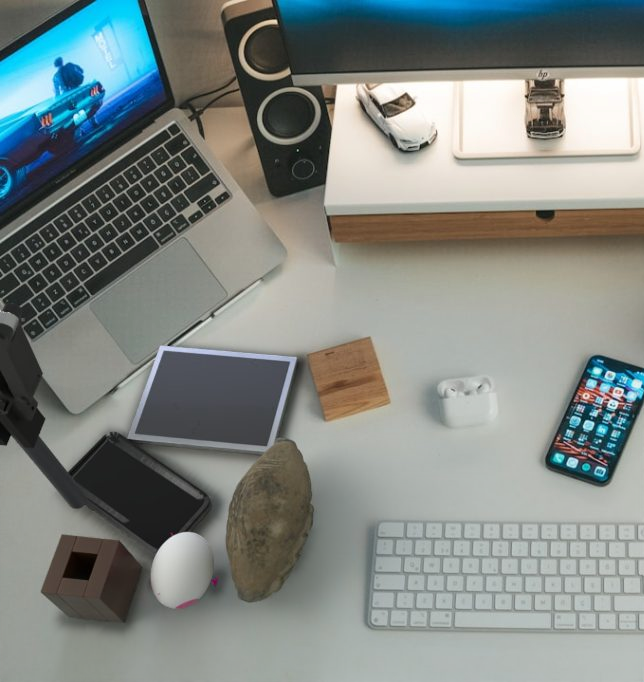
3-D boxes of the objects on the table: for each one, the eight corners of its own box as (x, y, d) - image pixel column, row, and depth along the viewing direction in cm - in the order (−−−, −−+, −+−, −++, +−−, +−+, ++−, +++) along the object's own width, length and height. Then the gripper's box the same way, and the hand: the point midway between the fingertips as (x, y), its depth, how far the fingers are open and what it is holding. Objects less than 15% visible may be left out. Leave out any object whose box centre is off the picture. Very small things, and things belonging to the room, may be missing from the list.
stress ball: (188, 558, 113) (135, 535, 108) (240, 541, 109) (188, 516, 104) (172, 629, 108) (117, 608, 104) (226, 613, 104) (171, 590, 100)
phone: (111, 427, 117) (213, 498, 111) (115, 432, 117) (216, 503, 112) (56, 483, 113) (159, 558, 108) (60, 488, 114) (162, 563, 109)
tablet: (129, 442, 117) (126, 438, 116) (162, 348, 123) (159, 344, 123) (273, 456, 115) (271, 452, 115) (298, 360, 122) (297, 356, 121)
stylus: (69, 510, 98) (-41, 381, 79) (75, 495, 99) (-32, 363, 80) (86, 513, 97) (-20, 383, 79) (92, 496, 98) (-11, 365, 80)
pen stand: (68, 617, 106) (39, 592, 101) (88, 561, 110) (61, 533, 104) (124, 623, 106) (99, 598, 100) (143, 567, 109) (119, 540, 103)
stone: (310, 615, 106) (294, 585, 99) (221, 614, 106) (198, 584, 99) (330, 458, 115) (316, 422, 108) (248, 458, 115) (229, 422, 109)
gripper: (3, 210, 69) (124, 399, 88) (-213, 194, 70) (-46, 384, 90) (-44, 307, 65) (93, 482, 84) (-272, 287, 66) (-84, 465, 86)
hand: (21, 431), depth 87 cm, fingers closed on stylus, 1 cm apart
